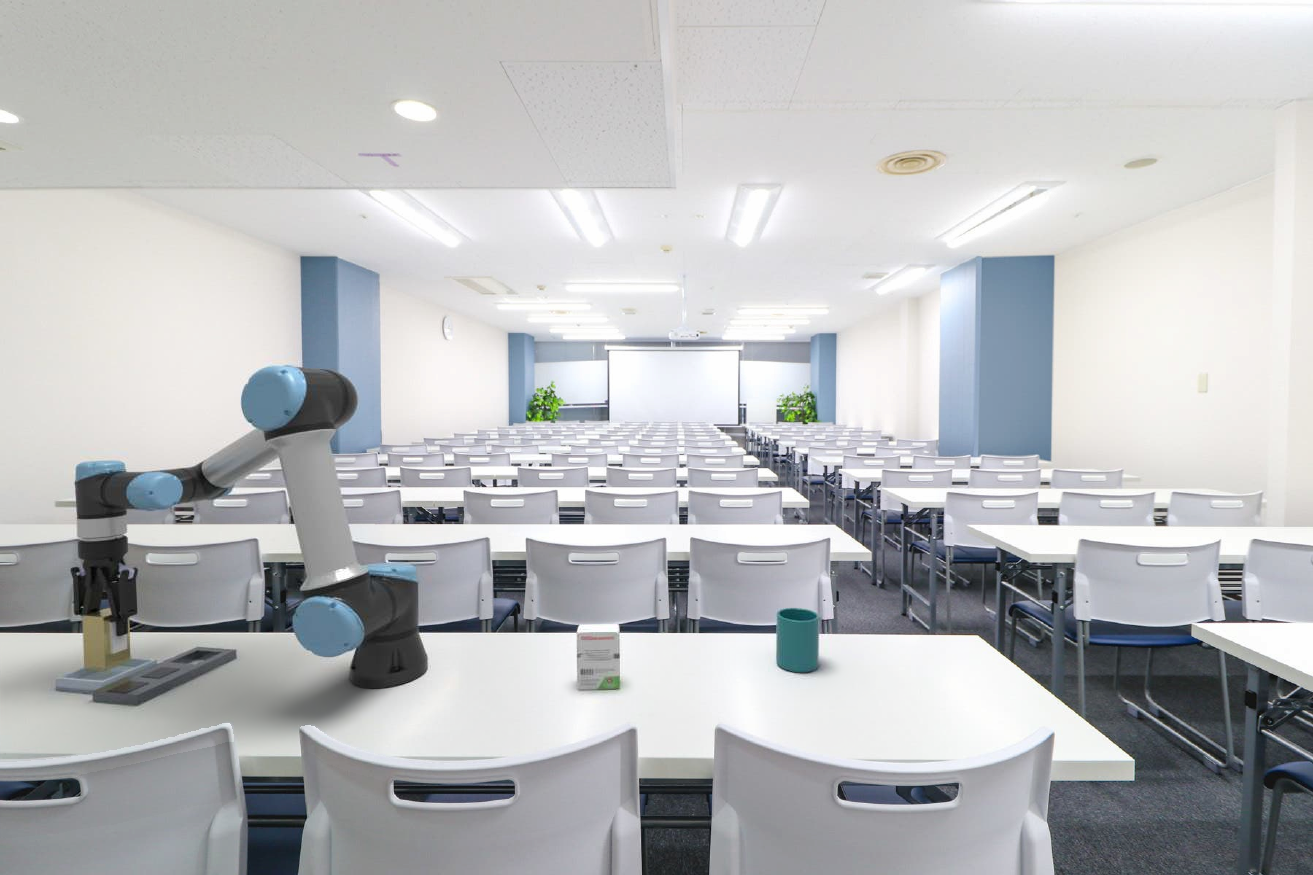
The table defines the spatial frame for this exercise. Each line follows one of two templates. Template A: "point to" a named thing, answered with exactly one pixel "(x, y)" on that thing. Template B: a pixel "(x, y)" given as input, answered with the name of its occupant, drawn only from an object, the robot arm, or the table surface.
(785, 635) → the cup
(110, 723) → the table surface
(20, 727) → the table surface
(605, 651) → the ink box
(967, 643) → the table surface
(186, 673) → the grey slotted plate
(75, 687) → the tray
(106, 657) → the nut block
